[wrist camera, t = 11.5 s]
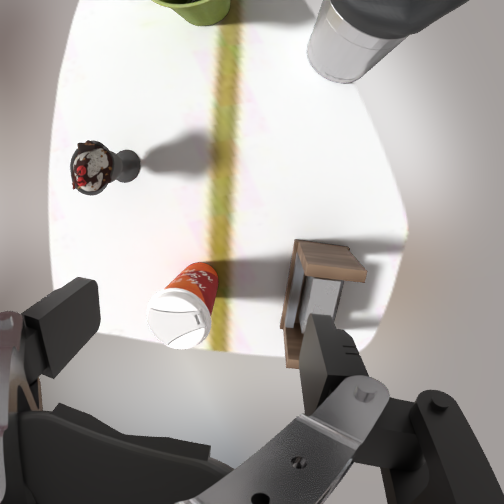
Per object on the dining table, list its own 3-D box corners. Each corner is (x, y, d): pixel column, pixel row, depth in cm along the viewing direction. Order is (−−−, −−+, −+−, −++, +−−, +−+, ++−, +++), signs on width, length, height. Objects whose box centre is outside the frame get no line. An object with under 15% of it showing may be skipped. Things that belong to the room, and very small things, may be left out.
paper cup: (216, 249, 44) (195, 285, 31) (232, 296, 46) (218, 347, 33) (168, 262, 45) (132, 300, 32) (185, 307, 47) (157, 357, 34)
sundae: (130, 196, 43) (74, 212, 29) (100, 172, 42) (38, 179, 28) (153, 160, 41) (102, 159, 27) (121, 136, 40) (63, 128, 26)
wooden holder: (294, 239, 43) (303, 263, 33) (348, 246, 43) (371, 271, 33) (279, 325, 47) (282, 367, 37) (328, 330, 47) (342, 371, 37)
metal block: (307, 263, 43) (313, 278, 38) (331, 266, 43) (341, 281, 37) (298, 313, 46) (302, 333, 40) (321, 315, 45) (327, 336, 40)
